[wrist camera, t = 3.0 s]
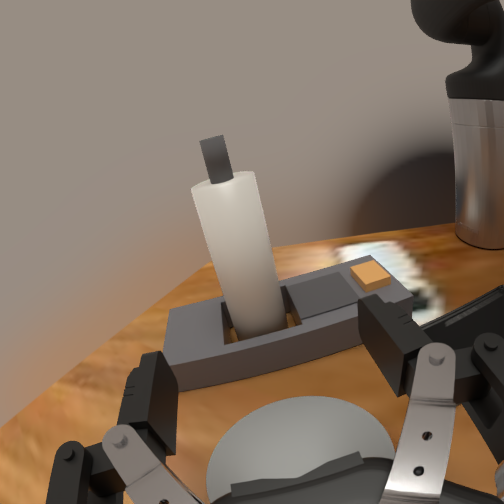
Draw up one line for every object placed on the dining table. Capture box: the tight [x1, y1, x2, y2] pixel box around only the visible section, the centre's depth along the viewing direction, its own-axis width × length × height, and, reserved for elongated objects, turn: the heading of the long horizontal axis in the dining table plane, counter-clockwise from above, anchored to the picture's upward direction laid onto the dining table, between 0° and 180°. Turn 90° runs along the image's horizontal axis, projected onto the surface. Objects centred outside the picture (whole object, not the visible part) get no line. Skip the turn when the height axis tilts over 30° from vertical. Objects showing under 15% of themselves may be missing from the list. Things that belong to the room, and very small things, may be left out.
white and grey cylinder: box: [191, 135, 289, 341], centre depth 23 cm, size 4×4×17 cm
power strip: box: [163, 255, 413, 392], centre depth 26 cm, size 20×8×4 cm, turn 98°
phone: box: [419, 285, 504, 406], centre depth 18 cm, size 8×1×15 cm
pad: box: [206, 396, 395, 503], centre depth 14 cm, size 11×11×1 cm
